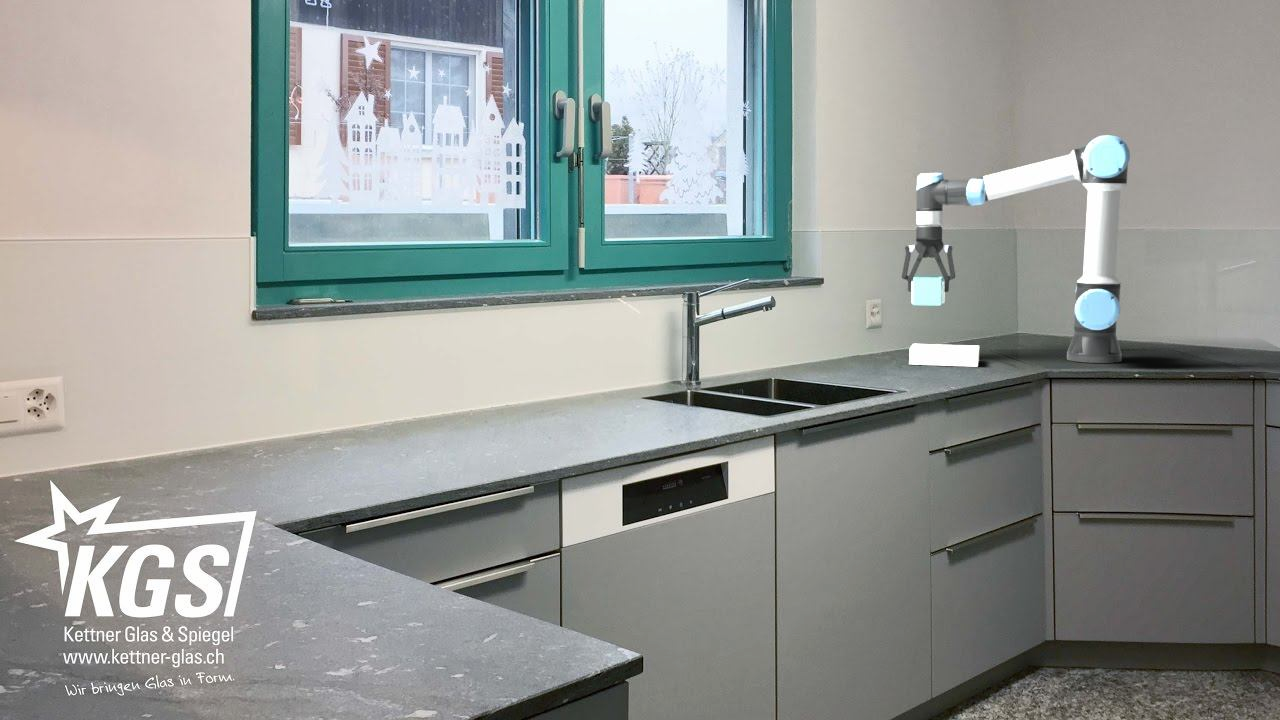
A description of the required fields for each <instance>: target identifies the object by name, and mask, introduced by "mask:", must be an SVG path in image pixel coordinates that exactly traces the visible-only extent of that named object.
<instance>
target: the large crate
mask: <svg viewBox="0 0 1280 720" xmlns="http://www.w3.org/2000/svg"><path fill="white" fill-rule="evenodd" d="M908 356H909V358H908V360H909V361H908V365H912V366H914V365H915V366H919V365H921V366H948V367H975V368H976V367H977V368H978V366H979V362H980V345H970V344H969V345H967V344H934V343H933V344H929V343H912V345H911V346H910V348H909V353H908Z"/></svg>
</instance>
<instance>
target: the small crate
mask: <svg viewBox="0 0 1280 720" xmlns="http://www.w3.org/2000/svg"><path fill="white" fill-rule="evenodd" d="M942 281H944V278H943V276H914V277H913V303H912V306H942V304H941V302H942Z"/></svg>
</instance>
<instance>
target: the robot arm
mask: <svg viewBox="0 0 1280 720" xmlns="http://www.w3.org/2000/svg"><path fill="white" fill-rule="evenodd" d="M1130 154H1131V153H1130V150H1129V146H1128V145H1127V143H1126V142H1125V141H1124V140H1123V139H1121V138H1120V137H1118V136H1115V135H1109V134H1106V135H1099V136H1097V137H1096V138H1093V139H1092V140H1091V141H1090V142H1089V143H1088V144H1087V145H1084V146H1082V147H1079V148H1075V149H1072V151H1070V153H1069V154H1066V155H1061V156H1057V157H1054V158H1050V159H1046V160H1045V159H1044V160H1043V161H1039V162H1035V163H1030V164H1027V165H1023V166H1018V167H1015V168H1011V169H1006V170H1002V171H999V172H995V173H991V174H987V175H983V176H978V177H976V178H963V179H962V178H961V179H945V178H944V175H943V173H941V172H929V173H928V172H927V173H920V174H919V175H917V178H916V189H915V191H916V212H915V214H916V219H915V222H916V224H915V225H917V227H916V228H915V243H914V244H912V245H906V246H905V247H904V249H905V258H904V263H903V268H902V273H901V279H903V280H906V281H907V291H908V292H909V293H910V294H911V298H910V299H911V301H910V302H911V304H913V278H914V277H915V275H916V273H917V270H918V268H919V266H920V264H921V262H922V260H923V259H926V258H931V259H932V258H933V259H935V262H936V264H937V266H938V268H939V271H940V272H941V275H942V277H943V281H942V302H941V304H943V305H944V304H945V303H946V293H949V291H950V281H952V280H955V278H956V272H955V271H956V270H955V265H954V259H953V248H954V246H953V245H949V244H945V243H944V242H943V227H942V224H943V214H944V213H943V206H964V207H971V206H981V205H984V204H985V202H988V201H991V200H996V199H1000V198H1005V197H1009V196H1012V195H1013V196H1014V195H1017V194H1021V193H1025V192H1030V191H1033V190H1038V189H1042V188H1047V187H1050V186H1054V185H1059V184H1062V183H1067V182H1070V181H1071V182H1072V181H1074V180H1075V181H1077V182H1079V183H1081V182H1082V186H1083V187H1084V188H1085V189H1086V191H1087V195H1086V196H1087V198H1086V215H1085V216H1086V218H1085V232H1084V233H1085V235H1084V251H1083V252H1084V253H1083V264H1082V265H1083V266H1082V267H1083V269H1082V270H1083V271H1082V276H1081V277H1079V279H1077V281H1076V286H1075V291H1074V295H1075V298H1074V299H1075V301H1074V303H1075V305H1074V323H1073V325H1074V326H1073V328H1074V329H1073V336H1072V338H1071V341H1070V344H1069V345H1068V348H1067V351H1066V360H1067V361H1071V362H1079V363H1092V364H1093V363H1095V364H1114V362H1115V363H1120V362H1122V352H1121V348H1120V347H1121V346H1120V344H1119V341H1118V337H1117V321H1118V319H1119V317H1120V315H1121V305H1120V299H1121V281H1120V280H1119V278H1117V277H1116V270H1117V269H1116V268H1117V254H1118V253H1117V252H1118V237H1119V223H1120V221H1119V219H1120V207H1121V206H1120V205H1121V203H1120V202H1121V201H1120V200H1121V192H1122V190H1123V189H1124V188H1125V187H1126V186H1127V184H1128V183H1127V181H1128V173H1129V172H1128V167H1129V162H1130V157H1131V155H1130ZM914 249H915V250H916V252H917V253H918V255H917V257H916V260H915V262H914V264H913V266H912V269H911V271H910V273H909V275H908V271H909V266H910V260H911V256H912V253H913V252H914ZM943 249H944V252H945V253H946V257H947V264H948V269H949V274H948V273H947V270H946V266H945V265H944V263H943V260H942V259H941V256H940V253H941V251H942V250H943Z"/></svg>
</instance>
